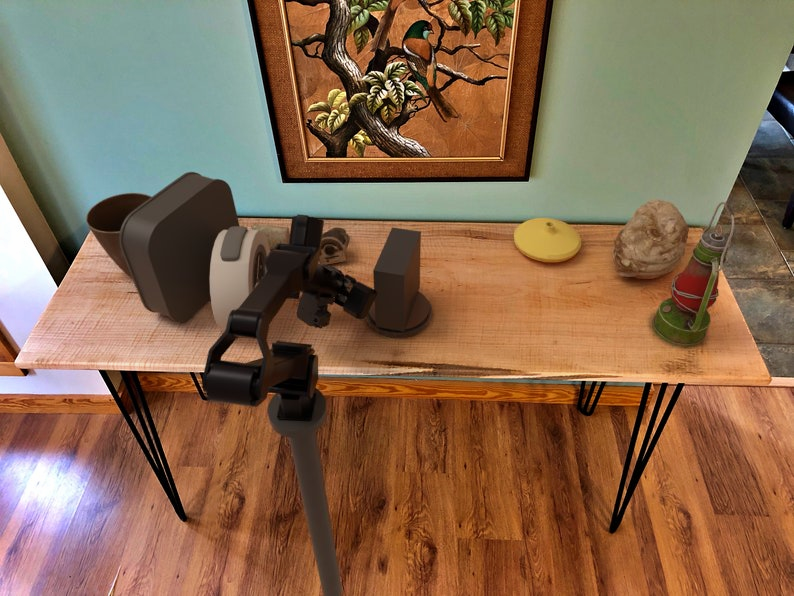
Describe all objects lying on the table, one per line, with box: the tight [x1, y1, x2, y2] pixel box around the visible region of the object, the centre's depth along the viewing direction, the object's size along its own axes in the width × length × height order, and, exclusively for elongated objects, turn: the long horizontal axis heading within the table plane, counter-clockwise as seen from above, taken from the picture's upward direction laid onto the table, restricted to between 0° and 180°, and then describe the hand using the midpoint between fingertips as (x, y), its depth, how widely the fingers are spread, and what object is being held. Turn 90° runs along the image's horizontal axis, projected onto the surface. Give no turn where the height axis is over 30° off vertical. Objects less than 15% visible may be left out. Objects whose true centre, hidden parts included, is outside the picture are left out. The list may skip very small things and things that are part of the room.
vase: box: [513, 217, 582, 263], centre depth 146 cm, size 16×16×7 cm
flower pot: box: [85, 192, 152, 279], centre depth 139 cm, size 15×15×16 cm
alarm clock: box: [210, 225, 271, 333], centre depth 127 cm, size 21×8×20 cm, turn 179°
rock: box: [612, 199, 690, 280], centre depth 138 cm, size 18×16×15 cm
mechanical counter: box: [318, 227, 351, 266], centre depth 146 cm, size 7×13×10 cm
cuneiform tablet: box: [251, 223, 290, 250], centre depth 147 cm, size 7×4×12 cm
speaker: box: [119, 171, 240, 323], centre depth 131 cm, size 25×9×25 cm, turn 154°
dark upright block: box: [368, 226, 430, 332], centre depth 126 cm, size 13×14×16 cm
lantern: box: [651, 201, 735, 349], centre depth 119 cm, size 14×11×30 cm
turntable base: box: [365, 298, 433, 339], centre depth 132 cm, size 14×14×2 cm
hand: (354, 291), depth 126 cm, fingers closed
